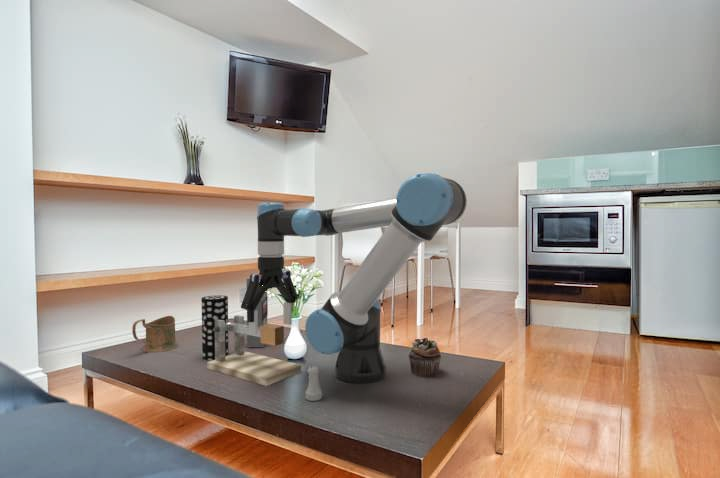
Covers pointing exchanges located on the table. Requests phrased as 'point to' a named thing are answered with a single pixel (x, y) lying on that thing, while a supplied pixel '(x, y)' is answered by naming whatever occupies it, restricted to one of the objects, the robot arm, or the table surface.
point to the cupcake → (424, 358)
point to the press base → (247, 360)
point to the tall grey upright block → (262, 320)
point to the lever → (260, 332)
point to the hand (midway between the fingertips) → (271, 328)
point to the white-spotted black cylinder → (213, 323)
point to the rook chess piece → (313, 384)
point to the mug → (158, 334)
